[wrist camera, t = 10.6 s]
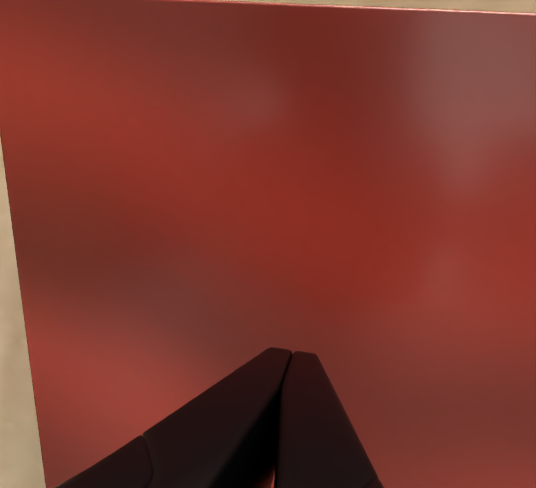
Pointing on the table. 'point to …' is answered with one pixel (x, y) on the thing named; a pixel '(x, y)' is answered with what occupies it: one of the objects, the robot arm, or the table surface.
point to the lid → (278, 219)
